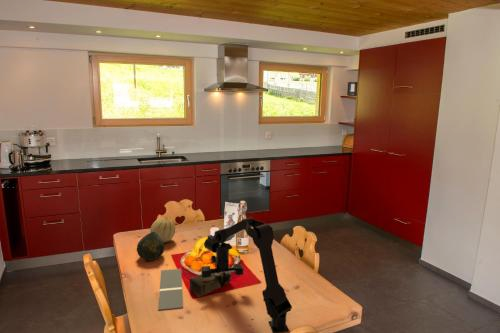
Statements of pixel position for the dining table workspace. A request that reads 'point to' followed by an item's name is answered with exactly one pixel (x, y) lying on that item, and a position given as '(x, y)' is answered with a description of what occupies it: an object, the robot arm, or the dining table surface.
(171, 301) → the strip
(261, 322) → the dining table surface
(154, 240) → the squash
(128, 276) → the dining table surface
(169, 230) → the cantaloupe
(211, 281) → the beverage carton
